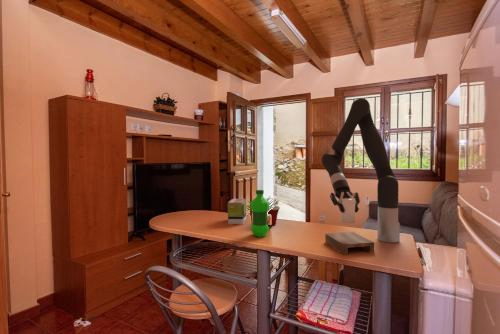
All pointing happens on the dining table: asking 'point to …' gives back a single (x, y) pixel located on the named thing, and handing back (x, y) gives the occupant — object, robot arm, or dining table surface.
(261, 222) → the plastic bottle
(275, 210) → the plastic cup
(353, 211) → the beige upright block
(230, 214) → the tea box
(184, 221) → the dining table surface
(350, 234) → the shelf
